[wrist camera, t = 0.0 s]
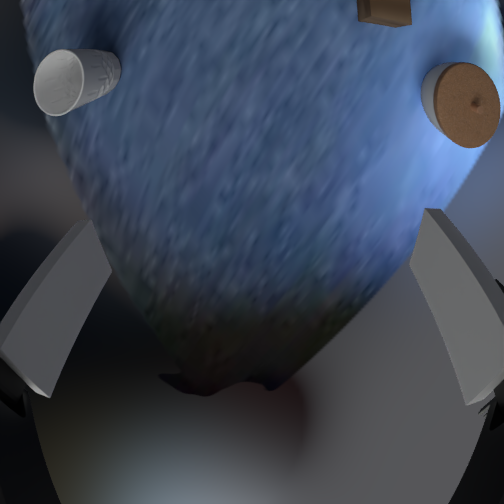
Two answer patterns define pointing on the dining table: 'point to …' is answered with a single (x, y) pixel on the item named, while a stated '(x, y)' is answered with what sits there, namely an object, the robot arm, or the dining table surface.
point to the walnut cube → (385, 12)
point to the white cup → (74, 79)
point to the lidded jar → (461, 103)
